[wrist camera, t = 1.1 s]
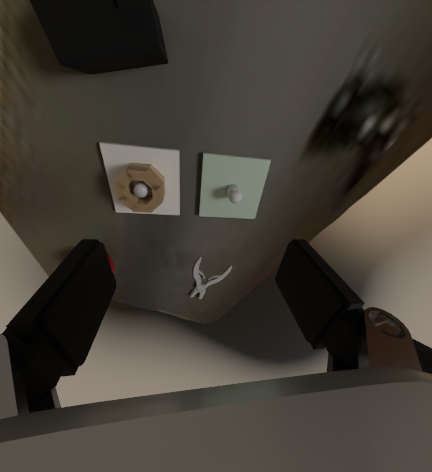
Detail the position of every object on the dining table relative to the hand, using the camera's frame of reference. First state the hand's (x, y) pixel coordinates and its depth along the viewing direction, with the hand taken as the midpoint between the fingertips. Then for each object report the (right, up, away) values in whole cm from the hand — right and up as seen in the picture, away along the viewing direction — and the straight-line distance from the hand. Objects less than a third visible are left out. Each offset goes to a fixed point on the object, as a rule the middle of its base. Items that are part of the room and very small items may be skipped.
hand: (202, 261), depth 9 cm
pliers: (-2, -11, +41) cm, 42 cm away
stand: (-12, +11, +23) cm, 28 cm away
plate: (+4, +11, +25) cm, 28 cm away
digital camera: (-11, +26, +13) cm, 31 cm away
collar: (-12, +11, +22) cm, 27 cm away
